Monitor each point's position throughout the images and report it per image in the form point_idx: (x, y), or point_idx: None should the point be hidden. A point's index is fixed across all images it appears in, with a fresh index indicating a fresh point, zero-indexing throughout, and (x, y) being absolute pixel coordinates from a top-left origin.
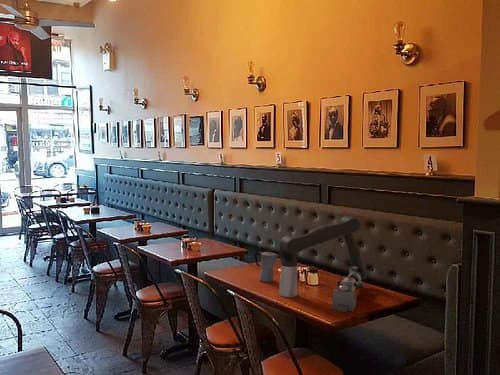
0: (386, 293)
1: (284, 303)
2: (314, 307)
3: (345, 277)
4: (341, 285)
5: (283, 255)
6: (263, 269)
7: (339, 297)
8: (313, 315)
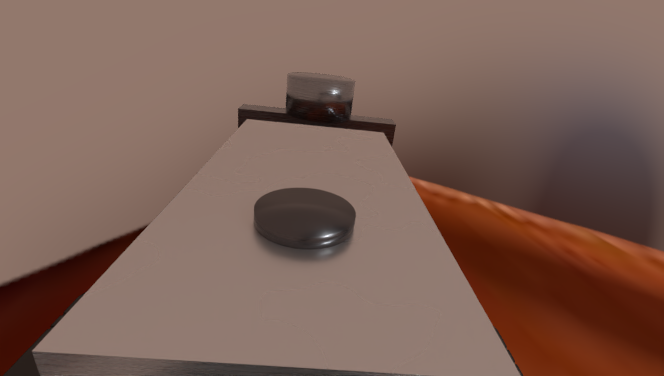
0: None
1: (650, 256)
2: (473, 241)
3: (480, 316)
4: (340, 81)
5: None
6: None
7: None
8: (413, 182)
